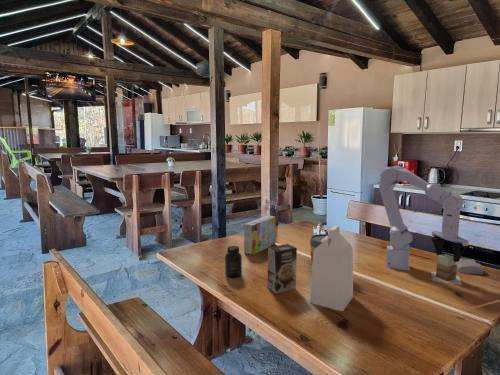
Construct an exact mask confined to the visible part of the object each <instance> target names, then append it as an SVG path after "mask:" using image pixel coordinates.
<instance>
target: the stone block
mask: <svg viewBox="0 0 500 375" xmlns="http://www.w3.org/2000/svg"><path fill="white" fill-rule="evenodd" d="M456 265H457V272H458V273H461V274H471V275H472V274H473V275H483V274H484V267H483V265H482V264H480V263H478V262H476V261H475V259H471V258H470V259H468V258H462V257H460V260H459V262H456Z"/></svg>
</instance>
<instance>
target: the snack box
mask: <svg viewBox="0 0 500 375" xmlns="http://www.w3.org/2000/svg"><path fill="white" fill-rule="evenodd" d="M276 233H277V232H276V216H275V215H273V216H272V215H266V216H263V217H259V218H257V219H254V220H252V221H249V222H246V223H244V224H243V244H244V247H243V248H244V250H243V252H244V254H245V255H251V256H255V255H256V254H257V253H259V252H261V251H264V250H266V249H268V247H272V246H274V245H276V242H277V238H276V235H277V234H276Z"/></svg>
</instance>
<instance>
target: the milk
mask: <svg viewBox="0 0 500 375" xmlns="http://www.w3.org/2000/svg"><path fill="white" fill-rule="evenodd" d="M328 234H329V235H328V236H326V237H324V238H323V239H322V240H321V241H322V244H320V245H319V246H318V247H317V248H316V249H315V250H314V252H313V262H312V264H311V265H312V266H311V267H312V268H311V280H310V281H311V284H310V296H309V297H310V298H309V303H310V304H313V305H317V306H320V307H325V308H328V309H332V310H337V311H340V312H344V310H346V307H347V306H348V305H349V303H350V302H351V300H352V299H353V298H354V268H353V267H354V263H353V262H354V257H353V256H354V254H353V253H354V252H353V251H354V250H353V247H352V244H350V242H349V241H348V240H347V239H346V238H345V237H344V236H343V235H342V234H341V233H340V226H338V225H334V226H333V227H332V228H330V229H329V231H328Z"/></svg>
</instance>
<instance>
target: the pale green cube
mask: <svg viewBox="0 0 500 375" xmlns="http://www.w3.org/2000/svg"><path fill="white" fill-rule="evenodd" d="M437 263H440V264H442V265H445V266H447V267H448V266H453V265H456V262H454V255H450V254H447V253H444V254H443V253H442V255H438V256H437V262H436V264H437Z"/></svg>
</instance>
